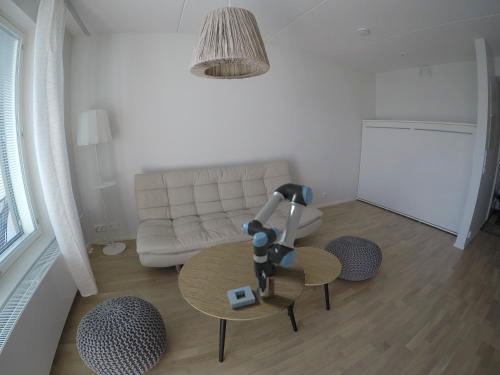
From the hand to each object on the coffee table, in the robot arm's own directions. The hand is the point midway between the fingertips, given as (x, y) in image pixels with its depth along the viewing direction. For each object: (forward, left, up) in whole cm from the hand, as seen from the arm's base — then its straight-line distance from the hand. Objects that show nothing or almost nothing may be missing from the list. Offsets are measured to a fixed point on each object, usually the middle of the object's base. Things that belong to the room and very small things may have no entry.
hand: (261, 292), depth 140 cm
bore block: (+12, -3, -4) cm, 13 cm away
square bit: (0, 0, -2) cm, 2 cm away
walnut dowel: (-6, 0, -4) cm, 8 cm away
